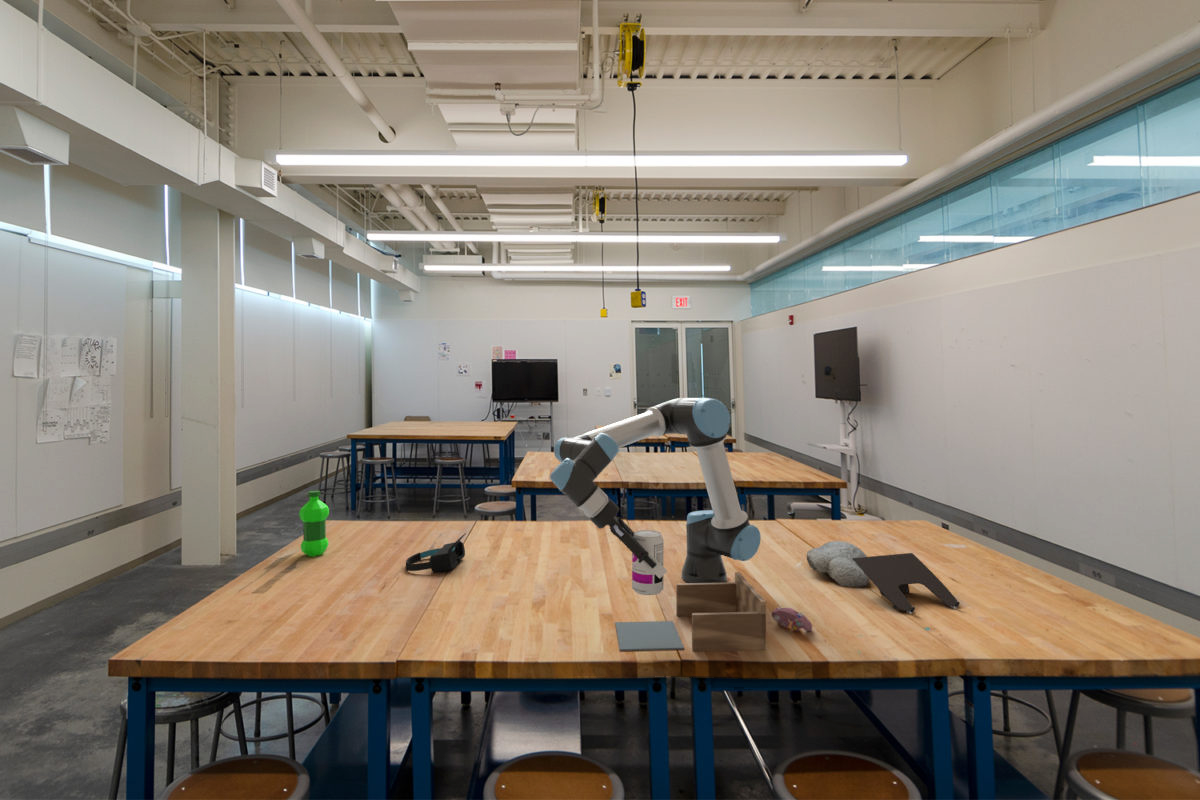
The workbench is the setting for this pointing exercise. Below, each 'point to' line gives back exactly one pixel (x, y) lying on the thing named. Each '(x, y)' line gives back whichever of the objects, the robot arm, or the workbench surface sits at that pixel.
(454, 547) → the virtual reality headset
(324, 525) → the plastic bottle
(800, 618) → the video game controller
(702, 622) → the wooden u-shaped enclosure
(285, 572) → the workbench surface
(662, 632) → the mat
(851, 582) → the grey rock
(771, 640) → the workbench surface
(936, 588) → the portable electronic device stand
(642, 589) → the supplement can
